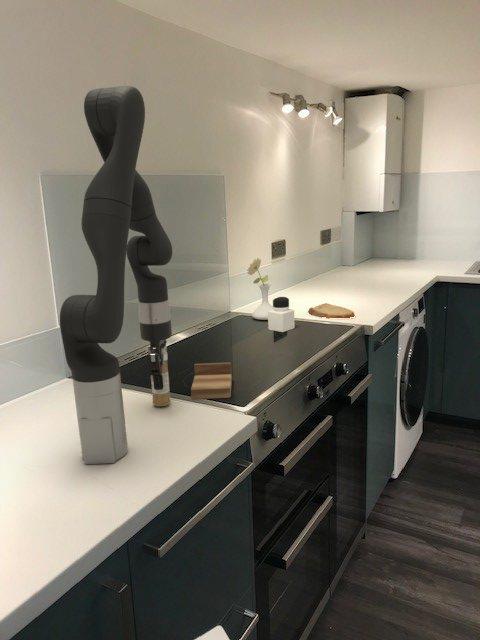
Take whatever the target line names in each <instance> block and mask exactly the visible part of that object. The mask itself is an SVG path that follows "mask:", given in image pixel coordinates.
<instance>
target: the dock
mask: <svg viewBox="0 0 480 640" xmlns="http://www.w3.org/2000/svg"><path fill="white" fill-rule="evenodd" d="M193 366H194V376H193V377H194V378H193V381H192V385H191V388H190V396H191V400H198V399H199V400H201V399H202V400H203V399H204V400H205V399H224V398H225V399H226V398H227V399H228V398H231V396H232V387H233V386H232V384H233V383H232V382H233V378H232V377H233V376H232V375H233V374H232V362H229V361H228V362H208V363H207V362H205V363H194V365H193Z"/></svg>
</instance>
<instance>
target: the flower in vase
mask: <svg viewBox="0 0 480 640" xmlns="http://www.w3.org/2000/svg"><path fill="white" fill-rule="evenodd" d="M261 260H262V259H260V258H259V257H257V258H254V259H253V260H252V263H250V264H249V267H248V269H247V274H248V275H250V276H252V275H253V274H255V273H258V275H259V277H257V278H255V279H254V280H253V282H252V284H258V283H260V281H261V282H262V283H260V284H258V285H257V286H258V287H259V288H260V290H261V297H262V298H261V299H262V300H261V303H260V304H259V306H257V308H255V309H254V310H253V312H251V316H252V318H253V319H256V320H262V321H263V320H264V321H265V320H267V321H268V311H271V310H274V309H273V305H271V304H270V303H269V289H270V287H271V285H272V284H270V283H266V282H267V281H269V276H268V274H267V275H265V276H263V277H262V276H261V273H260V271H259V269H260V267H261V265H262V264H261V262H262V261H261Z"/></svg>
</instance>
